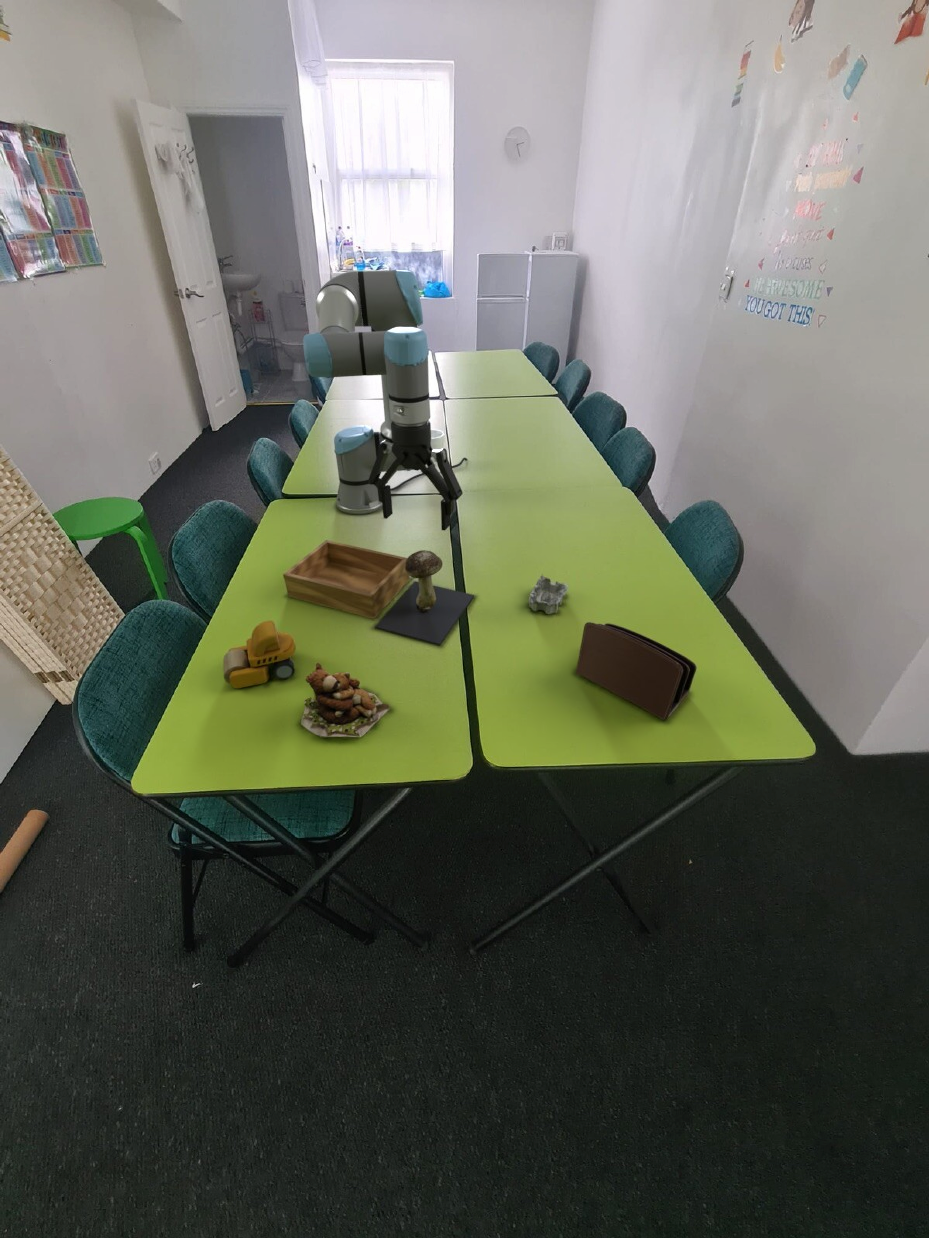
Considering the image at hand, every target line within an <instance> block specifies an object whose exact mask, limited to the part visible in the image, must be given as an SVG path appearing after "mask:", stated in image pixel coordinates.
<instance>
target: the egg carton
mask: <svg viewBox="0 0 929 1238" xmlns="http://www.w3.org/2000/svg"><path fill="white" fill-rule="evenodd" d="M536 581H537V582H536V584H535V585H534V586H533V589H532V590H531V591H530V593H529V598H528V602H529V606H528V607H529V608H531V611H533V612H538V611H544V612H545V614H548V615H551V614H557V613H558V609H559V606H561V605H562V603H563V602H562V601H563V599H565V597H566V593H567V591H568V589H569V585H568V584H565V583H564V582H561V583H560V582H559V581H555V582H551V581H552V580H551V579H550V578H549V577H546V576H544V574H541V575H540V576H539V578H538V579H537V580H536Z"/></svg>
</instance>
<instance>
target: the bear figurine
mask: <svg viewBox="0 0 929 1238" xmlns="http://www.w3.org/2000/svg"><path fill="white" fill-rule="evenodd" d="M305 682H306V683H307V684H309V687H311V689H312V691H313V694H314V698H315V699H314V698H312V697H311V696H310V697H308V698H305V700H303V703H304V704H303V706H305V708H304V711H303V714H302V717H301V719H300V724H301V726H303V727H304V728H305V729H306V730H308V731H309V732H310V733H312V734H314V735H315V736H317V737H319V738H323V739H324V738H325V739H326V738H330V737H331V738H333V737H340V738H341V737H342V738H361V737H363V736H364V735H365V734H366V733H367V732H368V731H370V730H371V729H372V728H373V726H375V724H376V723H377V722H378V721H379V720H380V719H382V717H383V716H384V715H385V714H386V713H387V712H388V711H389V710H390V708H391V706H390V704H388V703H385V702H384V703H383V702H382V701H381V700H380V699H379V698H378V696H377V695H376V694H374V693H372V692H369V691H366V690H364V689H363V688H361V687H360V684H361V682H360V680H359V679H358V678H355V677H351V674H350V672H349V671H346V672H340V671H339V672H335V673H333V674H330V673H329V672H328V671H326V670H325V669H324V668H323V667H322V664H321V663H320V662H316V663H315V670H312V671H311V673H310V674H309V675H306V677H305Z"/></svg>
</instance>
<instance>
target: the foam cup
mask: <svg viewBox="0 0 929 1238" xmlns="http://www.w3.org/2000/svg"><path fill="white" fill-rule="evenodd" d="M444 444H445V431H443V430H440V429H432V428H431V447H432V449H433V450H441V449H442V448H444ZM431 460H432V461H433V463H434V464H435V468H436V469H437V470H438V472H439V473H441V472H440V470H439V468H438V465H437V462H435V461H434V460H435V459H434V457H431ZM426 467H427V468H428V465H427V464H426Z"/></svg>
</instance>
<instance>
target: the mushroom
mask: <svg viewBox="0 0 929 1238" xmlns="http://www.w3.org/2000/svg"><path fill="white" fill-rule="evenodd" d="M406 558H407V560H406V563H405V570H406V572H407V574H408V575H409V576H410V578H413V579H417V580H418V581H417V582H419V594H418V596H417V599H416V605H417V606H416V608H417V609H416V610H419V611H420V612H426V611H429V609H430V608H431V607H432V606H433V605H434V604H435V601H436V596H435V595H436V594H435V592H434V588H433V586H434V584H433V580H432V577H433V576H434V575H436V574H437V573H439V571H441V569H442V567H443V560H442V558H441V557H440V556H438V555H437V554H436V553H434V552H433V551H431V550H425V549H424V550H423V549H422V550H418V551H416V552H413V553H411V554H410V555H409V556H408V557H406Z"/></svg>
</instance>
